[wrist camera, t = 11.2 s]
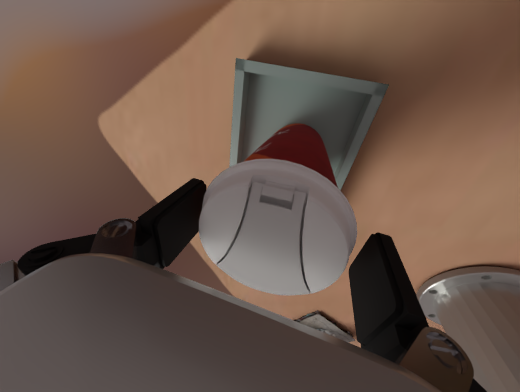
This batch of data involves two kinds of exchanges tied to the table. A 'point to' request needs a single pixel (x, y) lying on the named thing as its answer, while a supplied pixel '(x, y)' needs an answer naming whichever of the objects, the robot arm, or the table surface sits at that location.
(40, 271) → the robot arm
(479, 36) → the table surface
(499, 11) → the table surface
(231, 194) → the paper cup
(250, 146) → the tray
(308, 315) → the statue
